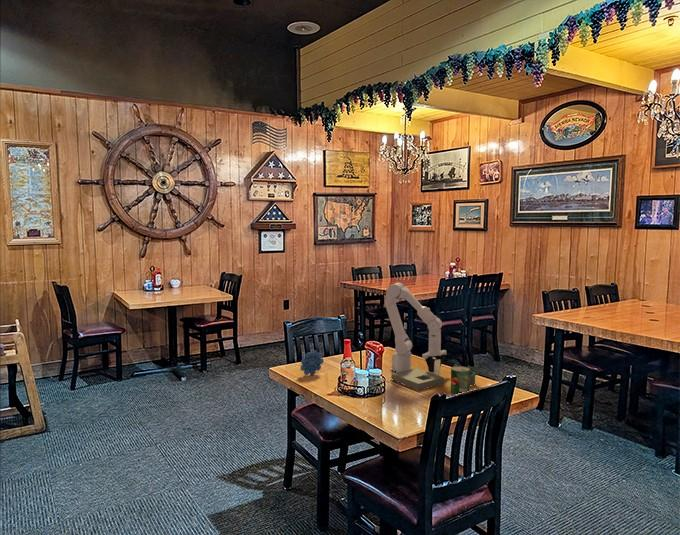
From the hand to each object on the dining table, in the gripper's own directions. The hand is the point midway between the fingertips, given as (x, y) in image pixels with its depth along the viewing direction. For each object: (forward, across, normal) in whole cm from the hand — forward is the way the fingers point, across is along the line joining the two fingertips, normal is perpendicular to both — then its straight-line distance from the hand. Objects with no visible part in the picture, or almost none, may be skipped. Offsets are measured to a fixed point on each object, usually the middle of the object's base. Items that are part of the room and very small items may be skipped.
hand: (434, 371), depth 241 cm
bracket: (+2, +3, -17) cm, 17 cm away
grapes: (+2, -48, +35) cm, 59 cm away
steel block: (+2, 0, 0) cm, 2 cm away
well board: (+2, -14, -3) cm, 14 cm away
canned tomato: (+2, -10, -25) cm, 27 cm away
